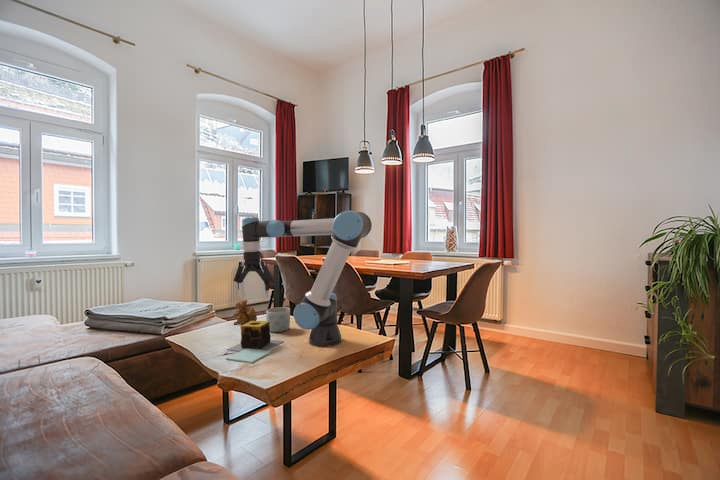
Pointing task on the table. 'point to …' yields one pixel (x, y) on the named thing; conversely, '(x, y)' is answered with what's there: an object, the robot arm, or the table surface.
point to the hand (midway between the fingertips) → (253, 297)
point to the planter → (278, 319)
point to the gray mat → (266, 347)
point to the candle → (255, 334)
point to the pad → (249, 355)
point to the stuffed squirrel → (244, 313)
